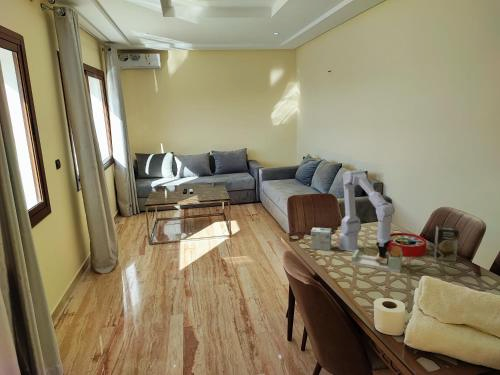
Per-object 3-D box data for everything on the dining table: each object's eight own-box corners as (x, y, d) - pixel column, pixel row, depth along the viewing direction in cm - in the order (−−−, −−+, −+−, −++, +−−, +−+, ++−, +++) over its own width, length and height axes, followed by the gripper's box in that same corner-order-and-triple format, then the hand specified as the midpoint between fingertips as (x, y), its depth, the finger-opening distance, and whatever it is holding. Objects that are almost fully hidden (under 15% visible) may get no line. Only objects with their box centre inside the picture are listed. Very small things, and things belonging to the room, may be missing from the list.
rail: (351, 264, 170) (351, 252, 168) (356, 256, 178) (356, 244, 177) (399, 272, 159) (400, 260, 158) (401, 264, 168) (402, 251, 166)
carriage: (375, 263, 165) (375, 250, 163) (378, 257, 172) (378, 244, 170) (386, 265, 162) (387, 251, 161) (388, 259, 169) (389, 245, 168)
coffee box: (435, 259, 171) (438, 229, 167) (433, 254, 176) (435, 225, 173) (456, 261, 168) (459, 230, 164) (453, 256, 174) (456, 226, 170)
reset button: (389, 260, 163) (390, 249, 161) (390, 256, 167) (391, 245, 165) (400, 262, 160) (401, 250, 159) (401, 258, 164) (402, 247, 163)
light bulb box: (331, 246, 193) (331, 228, 190) (330, 250, 186) (330, 232, 184) (312, 244, 196) (312, 226, 194) (310, 249, 190) (310, 230, 188)
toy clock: (382, 232, 195) (420, 233, 191) (382, 241, 196) (419, 243, 192) (389, 246, 176) (431, 247, 172) (389, 256, 177) (430, 258, 173)
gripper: (391, 234, 155) (389, 262, 158) (395, 224, 167) (393, 250, 170) (374, 232, 158) (373, 259, 161) (380, 223, 171) (378, 248, 174)
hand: (383, 255), depth 166 cm, fingers open, 4 cm apart
